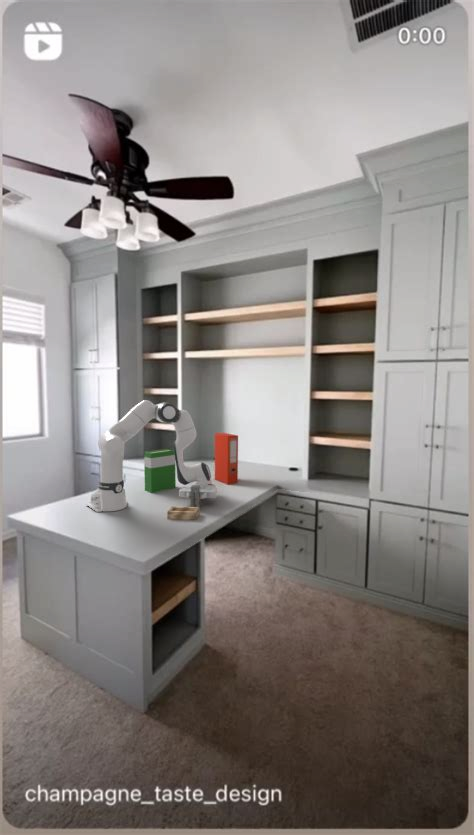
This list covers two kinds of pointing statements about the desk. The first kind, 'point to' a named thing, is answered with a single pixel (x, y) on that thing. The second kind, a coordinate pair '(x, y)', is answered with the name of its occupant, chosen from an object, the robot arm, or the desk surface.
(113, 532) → the desk surface
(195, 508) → the wooden tray
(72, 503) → the desk surface
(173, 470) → the green box
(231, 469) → the file binder
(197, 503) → the clip
